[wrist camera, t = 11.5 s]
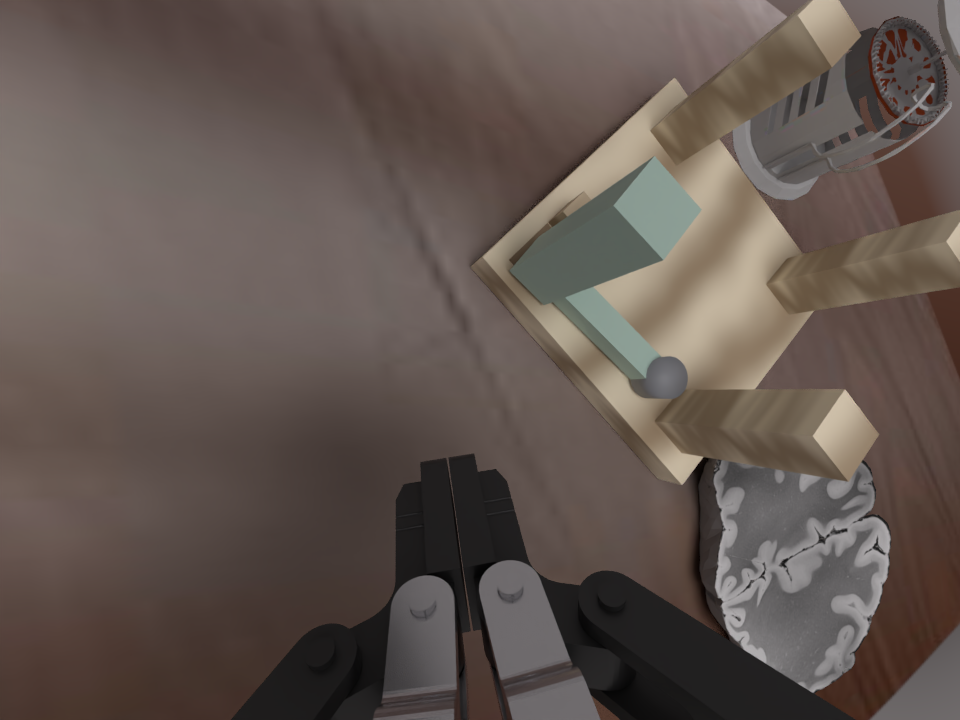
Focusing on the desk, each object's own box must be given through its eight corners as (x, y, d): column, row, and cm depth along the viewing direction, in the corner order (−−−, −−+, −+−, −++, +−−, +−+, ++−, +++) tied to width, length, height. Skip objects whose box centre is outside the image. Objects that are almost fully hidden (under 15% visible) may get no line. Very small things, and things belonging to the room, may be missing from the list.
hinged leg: (672, 374, 33) (839, 366, 22) (648, 408, 32) (809, 417, 22) (538, 237, 30) (654, 155, 20) (508, 271, 30) (613, 205, 19)
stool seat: (470, 266, 32) (572, 184, 19) (651, 97, 37) (827, -57, 24) (657, 478, 35) (850, 528, 23) (799, 296, 41) (1020, 253, 28)
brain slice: (875, 607, 42) (915, 623, 39) (724, 709, 36) (758, 736, 34) (813, 385, 41) (850, 385, 38) (650, 456, 36) (678, 462, 33)
